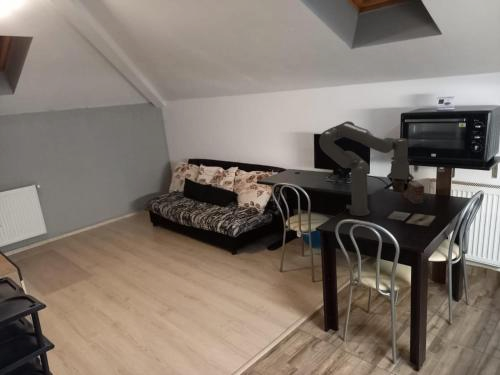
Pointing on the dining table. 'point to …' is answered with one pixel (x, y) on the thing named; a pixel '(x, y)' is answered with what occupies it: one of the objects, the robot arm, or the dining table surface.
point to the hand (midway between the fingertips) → (399, 189)
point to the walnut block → (398, 185)
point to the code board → (421, 219)
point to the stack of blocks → (414, 192)
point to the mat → (399, 215)
